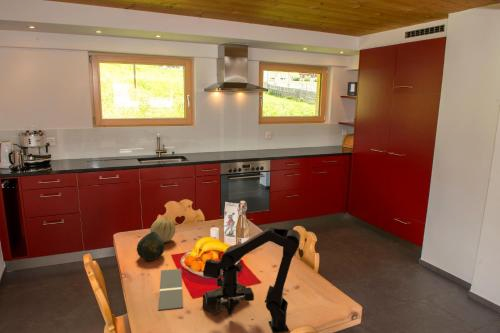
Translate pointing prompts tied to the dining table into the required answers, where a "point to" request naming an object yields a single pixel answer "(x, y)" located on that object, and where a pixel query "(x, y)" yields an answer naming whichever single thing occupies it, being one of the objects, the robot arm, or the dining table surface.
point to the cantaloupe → (163, 229)
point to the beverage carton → (218, 307)
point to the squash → (150, 246)
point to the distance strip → (170, 290)
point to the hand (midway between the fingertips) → (229, 315)
